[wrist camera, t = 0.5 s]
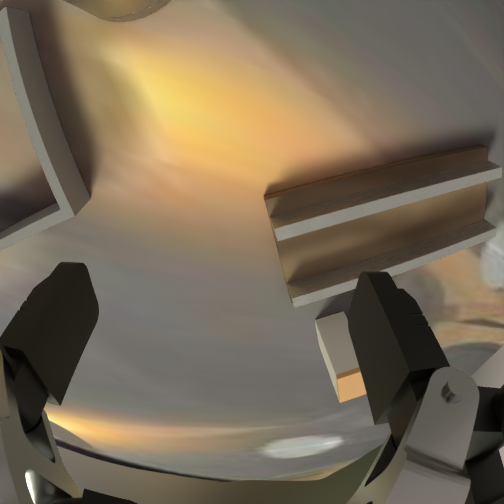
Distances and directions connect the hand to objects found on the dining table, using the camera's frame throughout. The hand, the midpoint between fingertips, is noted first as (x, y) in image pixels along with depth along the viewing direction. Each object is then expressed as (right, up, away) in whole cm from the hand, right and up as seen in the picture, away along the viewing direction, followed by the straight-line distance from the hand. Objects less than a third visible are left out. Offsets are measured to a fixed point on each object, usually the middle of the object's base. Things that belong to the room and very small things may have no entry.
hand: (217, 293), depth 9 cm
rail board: (+16, +5, +22) cm, 27 cm away
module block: (+11, -8, +29) cm, 32 cm away
